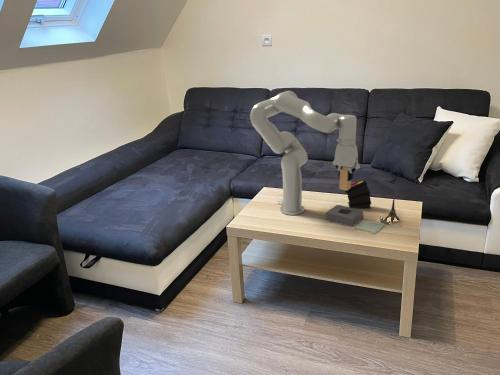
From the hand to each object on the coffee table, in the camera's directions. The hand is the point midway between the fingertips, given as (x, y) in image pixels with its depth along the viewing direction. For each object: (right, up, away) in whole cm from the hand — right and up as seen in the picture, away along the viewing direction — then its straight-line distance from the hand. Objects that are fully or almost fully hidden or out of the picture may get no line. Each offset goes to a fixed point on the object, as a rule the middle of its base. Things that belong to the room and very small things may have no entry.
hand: (345, 179), depth 204 cm
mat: (+11, -23, -3) cm, 25 cm away
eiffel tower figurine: (+23, -20, +4) cm, 31 cm away
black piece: (+11, -15, +20) cm, 27 cm away
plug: (0, -5, +2) cm, 5 cm away
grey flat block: (+1, -19, +7) cm, 21 cm away
